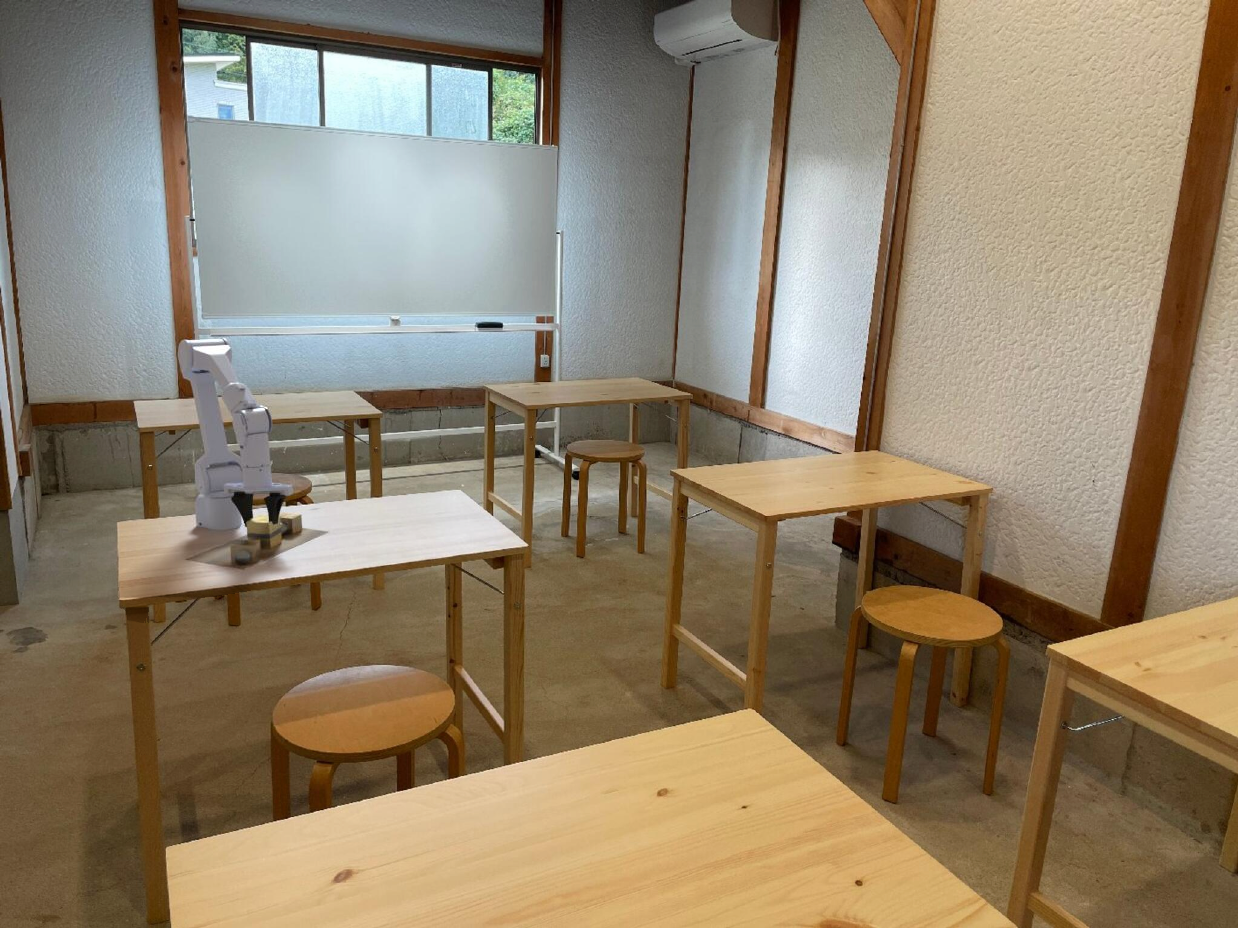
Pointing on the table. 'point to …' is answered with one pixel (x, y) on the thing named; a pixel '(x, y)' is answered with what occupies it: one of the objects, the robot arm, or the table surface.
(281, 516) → the shaft
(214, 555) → the board
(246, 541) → the shaft
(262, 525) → the tan wooden block
